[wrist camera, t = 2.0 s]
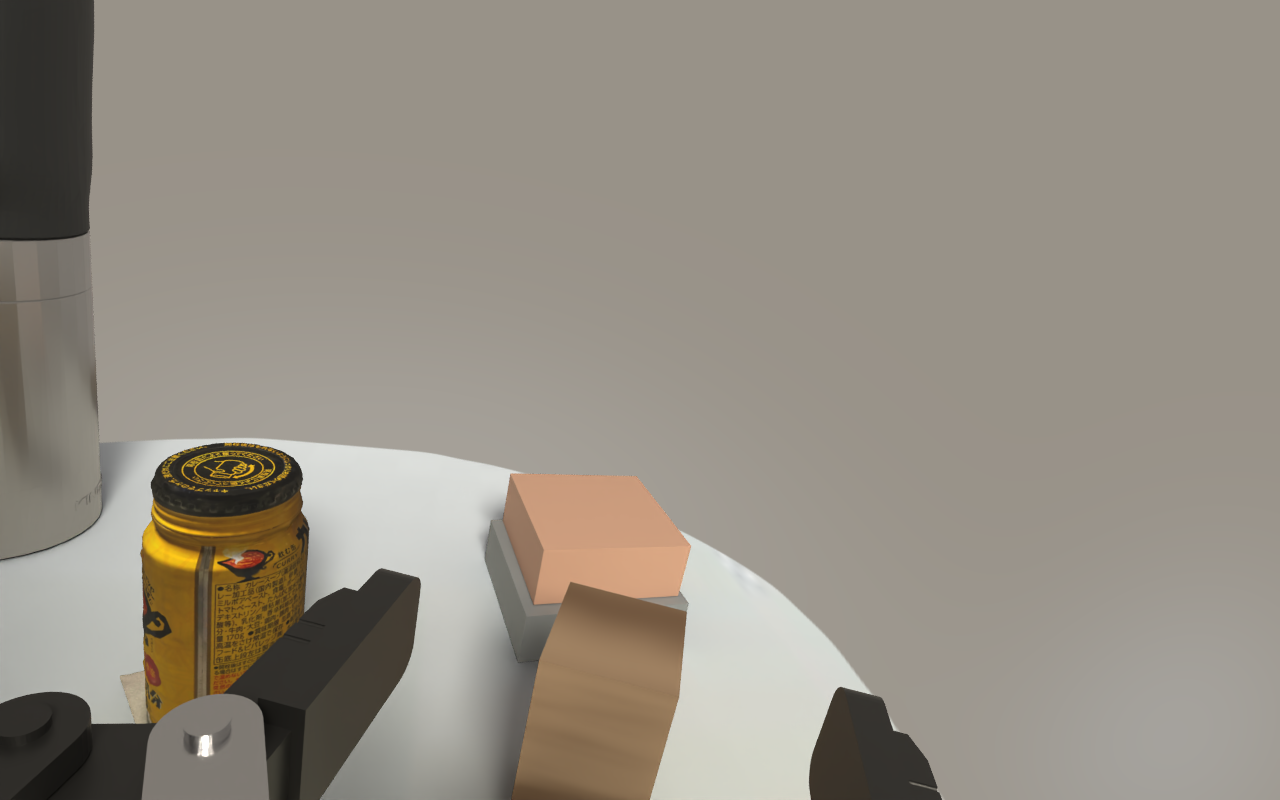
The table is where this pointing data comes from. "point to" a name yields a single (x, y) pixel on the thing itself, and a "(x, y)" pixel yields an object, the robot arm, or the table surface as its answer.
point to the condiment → (217, 571)
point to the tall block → (602, 699)
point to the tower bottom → (516, 605)
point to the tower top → (592, 536)
